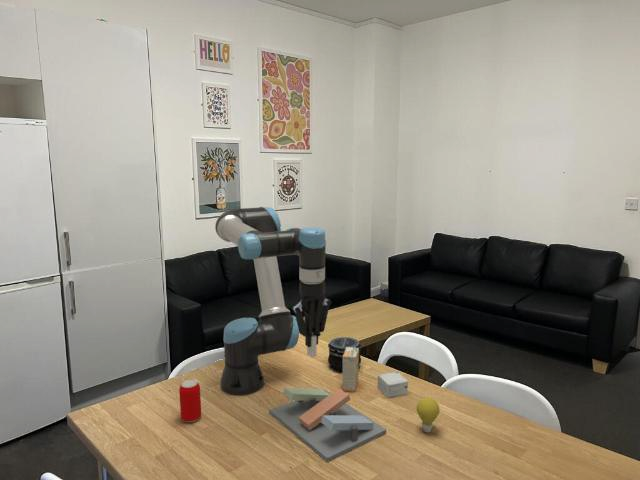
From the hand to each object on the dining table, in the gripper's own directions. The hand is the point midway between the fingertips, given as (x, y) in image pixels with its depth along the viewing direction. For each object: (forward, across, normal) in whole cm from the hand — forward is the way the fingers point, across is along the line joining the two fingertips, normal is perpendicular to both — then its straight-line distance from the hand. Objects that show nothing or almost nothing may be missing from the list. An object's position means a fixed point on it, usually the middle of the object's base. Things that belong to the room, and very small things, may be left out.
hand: (311, 355), depth 145 cm
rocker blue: (+17, +2, -15) cm, 22 cm away
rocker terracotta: (+17, +2, -5) cm, 18 cm away
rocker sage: (+17, +2, +5) cm, 18 cm away
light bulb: (+21, +24, -26) cm, 41 cm away
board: (+21, +2, -5) cm, 21 cm away
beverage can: (+22, -31, +21) cm, 43 cm away
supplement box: (+21, +22, +8) cm, 32 cm away
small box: (+21, +32, -2) cm, 39 cm away
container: (+22, +30, +22) cm, 43 cm away
